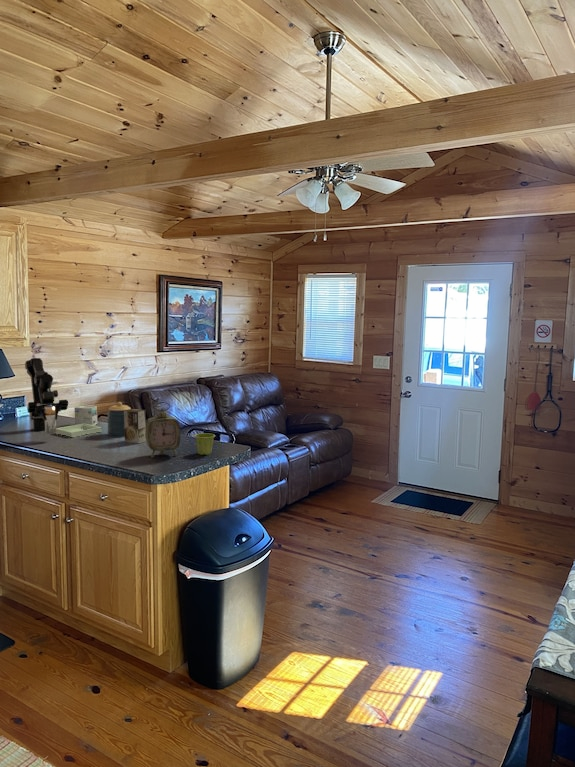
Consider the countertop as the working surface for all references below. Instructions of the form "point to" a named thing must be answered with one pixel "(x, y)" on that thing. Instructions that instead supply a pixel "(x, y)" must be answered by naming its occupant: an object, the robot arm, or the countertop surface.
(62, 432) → the cell tray
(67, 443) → the countertop surface
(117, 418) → the canister
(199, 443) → the plant pot
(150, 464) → the countertop surface
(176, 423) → the tabletop clock
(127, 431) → the coffee box
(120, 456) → the countertop surface
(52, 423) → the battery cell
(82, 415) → the light bulb box
